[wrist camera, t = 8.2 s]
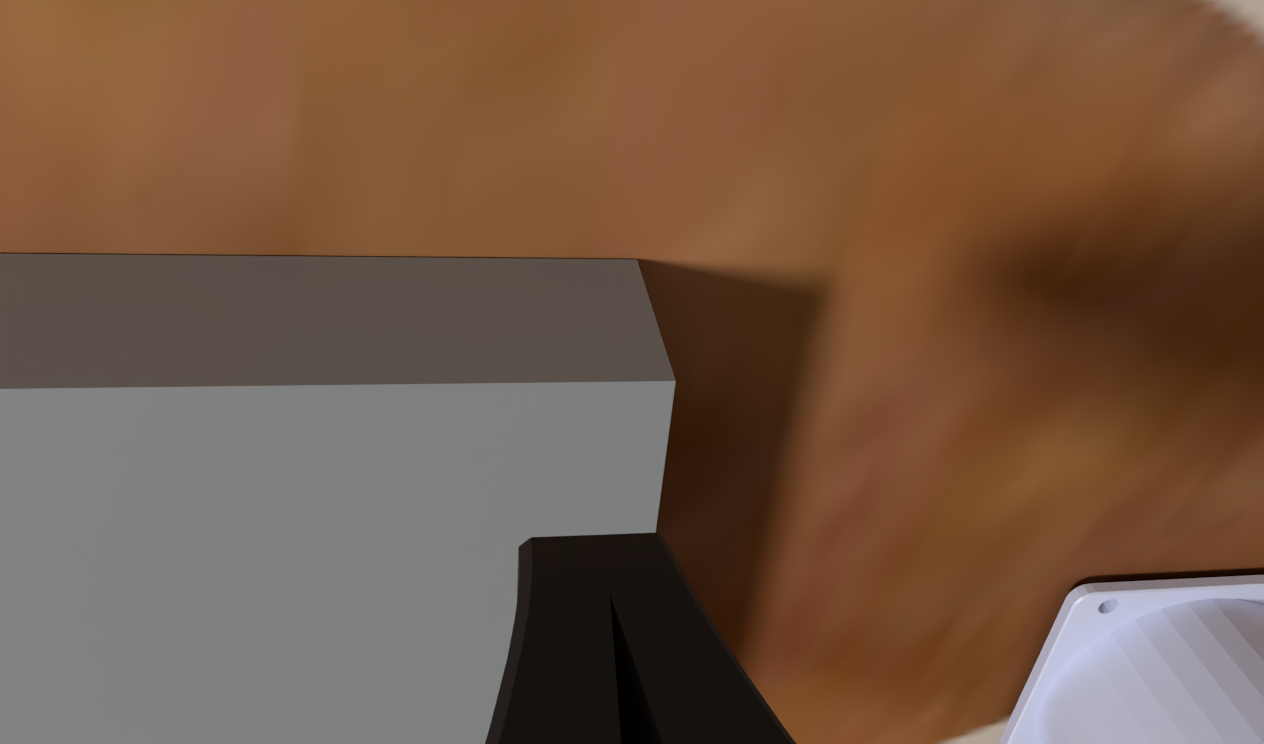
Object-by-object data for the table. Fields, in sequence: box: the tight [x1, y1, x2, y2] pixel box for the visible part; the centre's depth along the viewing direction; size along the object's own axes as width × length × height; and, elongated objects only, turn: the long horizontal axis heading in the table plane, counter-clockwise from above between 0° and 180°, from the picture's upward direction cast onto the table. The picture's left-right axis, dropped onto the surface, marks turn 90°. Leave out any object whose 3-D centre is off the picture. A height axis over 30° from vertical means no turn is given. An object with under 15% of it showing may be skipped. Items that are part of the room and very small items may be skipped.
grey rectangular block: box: [0, 254, 676, 744], centre depth 20 cm, size 11×14×4 cm
